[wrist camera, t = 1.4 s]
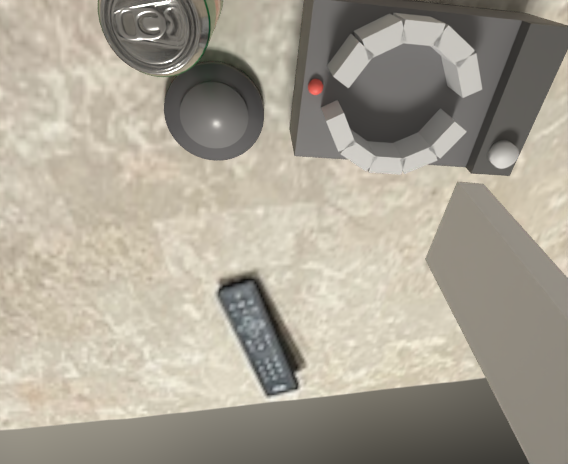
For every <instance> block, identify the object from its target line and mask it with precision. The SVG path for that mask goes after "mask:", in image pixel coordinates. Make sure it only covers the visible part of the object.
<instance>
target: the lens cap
mask: <svg viewBox="0 0 568 464" xmlns="http://www.w3.org/2000/svg"><path fill="white" fill-rule="evenodd" d="M164 114H165V120H166V123H167V126H168V129H169V131H170V132H171V134H172V136H173V137H174V139H175V140H176V141H177V142H178V143H179V144H180V145H181V146H182V147H183V148H184V149H185V150H187V151H188V152H190V153H191V154H193V155H195V156H198V157H200V158H204V159H208V160H227V159H232V158H234V157H237V156H239V155H241V154H243V153H244V152H246V151H247V150H248V149H249V148H251V147H252V146H253V144H254V143H255V142H256V140H257V139H258V137H259V135H260V133H261V130H262V127H263V121H264V109H263V102H262V98H261V95H260V93H259V91H258V89H257V87H256V85H255V84H254V83H253V81H252V80H251V79H250V78H249V77H248V76H247V75H246V74H245V73H243V72H242V71H241V70H239V69H238V68H236V67H234V66H232V65H229V64H226V63H223V62H216V61H207V62H200V63H196V64H195V65H194V66H193V67H192V68H191V69H189V70H188V71H186V72H184V73H182V74H179V75H178V76H177V77H176V78H175V79H174V81H173V82H172V84H171V85H170V87H169V89H168V92H167V94H166V98H165V103H164Z"/></svg>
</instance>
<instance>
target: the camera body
mask: <svg viewBox="0 0 568 464" xmlns="http://www.w3.org/2000/svg"><path fill="white" fill-rule="evenodd" d="M567 50H568V26H567V25H564V24H561V23H557V22H554V21H550V20H547V19H544V18H540V17H537V16H533V15H530V14H526V13H520V12H511V11H502V10H493V9H484V8H474V7H465V6H456V5H447V4H438V3H428V2H419V1H410V0H304V5H303V14H302V23H301V32H300V41H299V50H298V59H297V68H296V77H295V86H294V94H293V103H292V112H291V121H290V134H291V140H292V145H293V150H294V156H302V157H318V158H333V159H348V160H350V161H351V162H353V163H354V164H356V165H357V166H359V167H360V168H362V169H363V170H364V171H367V170H368V172H369V173H385V174H402V171H403V172H404V174H406V173H408V172H411V171H413V170H416V169H418V168H420V167H423V166H425V165H440V166H455V167H466V168H467V169H468V170H469V171H470V173H473V174H489V175H504V176H510V174H511V172H512V169H513V167H514V165H515V163H516V161H517V159H518V156H519V154H520V152H521V150H522V148H523V146H524V143H525V141H526V139H527V137H528V135H529V132H530V130H531V128H532V126H533V124H534V122H535V119H536V117H537V115H538V113H539V111H540V108H541V106H542V104H543V102H544V100H545V98H546V95H547V93H548V91H549V89H550V87H551V85H552V82H553V80H554V78H555V76H556V74H557V71H558V69H559V67H560V65H561V63H562V61H563V58H564V56H565V54H566V52H567Z"/></svg>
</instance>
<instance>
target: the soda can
mask: <svg viewBox="0 0 568 464" xmlns="http://www.w3.org/2000/svg"><path fill="white" fill-rule="evenodd" d="M222 6H223V0H98V15H99V21H100V25H101V28H102V31H103V33H104V35H105V38H106V40H107V42H108V43H109V45H110V47H111V48H112V50H113V51H114V52H115V53H116V55H117V56H118V57H119V58H120V59H121V60H123V61H124V62H125V63H126V64H128V65H129V66H131V67H132V68H134V69H136V70H138V71H140V72H142V73H145V74H147V75H151V76H156V77H170V76H175V75H179V74H182V73H184V72H186V71H188V70H189V69H191V68H192V67H193V66H194V65H195V64H196V63H197V62H198V61H199V60H200V59H201V57H202V56H203V54H204V52H205V50H206V48H207V46H208V44H209V41H210V39H211V36H212V34H213V31H214V29H215V26H216V24H217V21H218V19H219V16H220V14H221V10H222Z"/></svg>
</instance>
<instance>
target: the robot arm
mask: <svg viewBox="0 0 568 464" xmlns="http://www.w3.org/2000/svg"><path fill="white" fill-rule="evenodd" d="M425 260H426V262H427V264H428V266H429V268H430V270H431V272H432V274H433V275H434V277H435V279H436V281H437V283H438V285H439V287H440V289H441V291H442V293H443V295H444V297H445V299H446V301H447V303H448V305H449V307H450V309H451V311H452V313H453V315H454V317H455V319H456V320H457V322H458V324H459V326H460V328H461V330H462V332H463V334H464V336H465V338H466V340H467V342H468V344H469V346H470V348H471V350H472V352H473V354H474V356H475V358H476V360H477V362H478V364H479V365H480V367H481V369H482V371H483V373H484V375H485V377H486V379H487V381H488V383H489V385H490V387H491V389H492V391H493V393H494V395H495V397H496V399H497V401H498V403H499V405H500V407H501V409H502V410H503V412H504V414H505V416H506V418H507V420H508V422H509V424H510V426H511V428H512V430H513V432H514V434H515V436H516V438H517V439H518V442H519V444H520V446H521V448H522V450H523V451H524V454H525V455H526V457H527V459H528V461H529V463H530V464H568V278H567V277H566V276H565V275H564V273H563V272H562V271H561V270H560V269H559V268H558V267H557V266H556V264H555V263H554V262H553V261H552V260H551V259H550V258H549V257H548V256H547V254H546V253H545V252H544V251H543V250H542V249H541V248H540V247H539V245H538V244H537V243H536V242H535V241H534V240H533V239H532V238H531V237H530V235H529V234H528V233H527V232H526V231H525V230H524V229H523V228H522V226H521V225H520V224H519V223H518V222H517V221H516V220H515V219H514V218H513V216H512V215H511V214H510V213H509V212H508V211H507V210H506V209H505V207H504V206H503V205H502V204H501V203H500V202H499V201H498V200H497V199H496V197H495V196H494V195H493V194H492V193H491V192H490V191H489V190H488V188H487V187H486V186H485V185H484V184H478V183H468V182H457V184H456V186H455V188H454V191H453V193H452V196H451V198H450V200H449V203H448V205H447V208H446V210H445V213H444V215H443V217H442V220H441V222H440V225H439V227H438V229H437V232H436V234H435V237H434V239H433V242H432V244H431V246H430V249H429V251H428V254H427V256H426V258H425Z"/></svg>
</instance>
